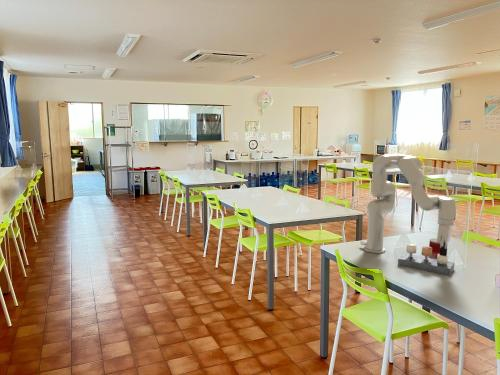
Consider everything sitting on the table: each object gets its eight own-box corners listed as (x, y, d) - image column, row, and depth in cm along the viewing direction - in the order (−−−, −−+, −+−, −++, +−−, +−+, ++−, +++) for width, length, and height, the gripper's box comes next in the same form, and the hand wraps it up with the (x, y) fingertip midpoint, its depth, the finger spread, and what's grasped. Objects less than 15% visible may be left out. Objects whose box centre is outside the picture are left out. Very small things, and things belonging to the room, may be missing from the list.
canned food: (444, 261, 234) (446, 242, 233) (429, 260, 236) (431, 241, 234) (441, 257, 242) (443, 239, 240) (427, 256, 243) (428, 238, 242)
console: (397, 265, 227) (398, 258, 226) (404, 259, 236) (404, 253, 236) (449, 276, 211) (449, 268, 211) (453, 269, 221) (454, 262, 220)
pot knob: (419, 261, 223) (421, 247, 222) (422, 258, 227) (423, 245, 225) (429, 263, 220) (430, 249, 219) (432, 260, 224) (433, 246, 223)
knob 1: (404, 258, 227) (405, 245, 226) (407, 256, 231) (408, 243, 230) (414, 260, 224) (415, 246, 223) (416, 257, 228) (417, 244, 227)
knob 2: (435, 269, 218) (436, 255, 217) (437, 266, 222) (438, 253, 221) (445, 271, 216) (446, 257, 214) (447, 268, 220) (448, 255, 218)
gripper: (441, 217, 223) (438, 250, 226) (434, 223, 211) (432, 257, 214) (456, 219, 219) (453, 253, 221) (450, 225, 207) (447, 260, 209)
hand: (443, 255), depth 218 cm, fingers closed
